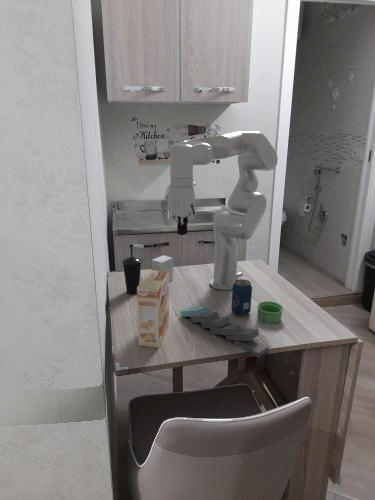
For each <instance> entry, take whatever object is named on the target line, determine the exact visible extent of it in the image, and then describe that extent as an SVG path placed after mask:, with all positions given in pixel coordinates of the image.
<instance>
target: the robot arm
mask: <svg viewBox="0 0 375 500" xmlns="http://www.w3.org/2000/svg"><path fill="white" fill-rule="evenodd" d="M234 156H237V165H238V171H239V173H238V174H239V177H238V180H237V183H236V184H235V187H234V188H233V190H232V192H231V194H230V196H229V198H228V200H227V208H228V210H229V211H221V212H218V213H217V214H216V215H215V216H214V219H213V222H212V223H213V224H212V225H213V232H214V233H213V234H214V257H213V258H214V260H213V261H214V263H213V278H211V279H210V281H209V285H210V287H212V288H214V289H216V290H218V291H219V290H220V291H232V288H233V285H234V283H235V281H236V280H239V278H241V277H243V276H244V273H243V272H242V271H240V272H238V273H237V271H238V270H237V269H238V268H237V267H238V253H239V244H238V241H237V239H239V240H243V241H247V240H250V239H251V238H252V237H253V236H254V234H255V232H256V231H257V229H258V227H259V225H260V223H261V221H262V218H263V216H264V214H265V213H266V212H265V211H266V209H267V198H266V196H265V195H264V194H263V193H260V192H257V190H258V188H259V187H258V186H259V179H258V177H257V174H256V171H261V172H262V171H263V172H270V171H273V170H274V169H275V168H276V167H277V165H278V160H279V159H278V154H277V152H276V150H275V148H274V146H273V145H272V143H271V142H270V140H269V139H268V137H266V136H265V134H264V133H262V132H260V131H249V130H248V131H247V130H246V131H244V130H241V131H240V130H239V131H234V132H231V133H225V134H220V135H213V136H207V137H201V138H200V137H198V138H192V139H188V140H182V141H180V142H179V143H177V144H172V145H171V146H170V147H169V173H170V174H169V175H170V185H169V187H168V192H167V213H169V214H170V215H171V216H172V217H174V218H175V222H176V224H177V225H176V226H177V228H176V229H177V235H178V236H184V235H187V234H188V223H189V221H194V219H195V218H194V216H195V215H196V195H195V188H194V183H193V182H194V178H193V176H194V175H193V173H194V172H193V171H194V170H193V168H194V166H205V165H208V164H210V163H211V162H212V161H213V160H224V159H228V158H232V157H234Z"/></svg>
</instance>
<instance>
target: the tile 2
mask: <svg viewBox="0 0 375 500" xmlns="http://www.w3.org/2000/svg"><path fill="white" fill-rule="evenodd" d="M218 317H220V315H219V311H217V310H216V311H209V312H207V313H205V314H202V315H200V316H189V318H190V322H191V323H200V322H210V321H212V320H214V319H216V318H218Z"/></svg>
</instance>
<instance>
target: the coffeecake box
mask: <svg viewBox="0 0 375 500" xmlns="http://www.w3.org/2000/svg"><path fill="white" fill-rule="evenodd" d="M140 281H141V282H140V283H139V285H138V287H137V294H136V305H137V310H136V311H137V343H138V344H137V346H139V347H149V348H156V349H157V348H158V349H160V347H161V344H162V343H163V340H164V337H165V335H166V332H167V331H168V328H169V324H170V281H169V272H167V271H155V270H152V269H149V270H148V271H147V273H146V274H145V276H144V277H143V278H142V280H140Z"/></svg>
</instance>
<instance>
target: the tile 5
mask: <svg viewBox="0 0 375 500" xmlns="http://www.w3.org/2000/svg"><path fill="white" fill-rule="evenodd" d="M241 329H242V330H240V331H239V332H237V333H235V334H233V335H225V337H226V341H235V340H239V341H251V340H252V339H254V340H255V339H256V338H257V337H258V336H260V333H259V328H241Z"/></svg>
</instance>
